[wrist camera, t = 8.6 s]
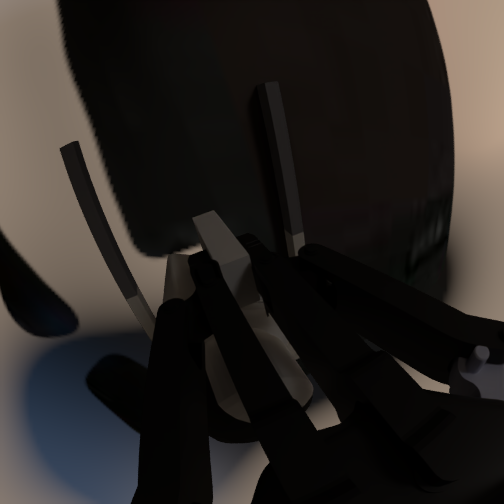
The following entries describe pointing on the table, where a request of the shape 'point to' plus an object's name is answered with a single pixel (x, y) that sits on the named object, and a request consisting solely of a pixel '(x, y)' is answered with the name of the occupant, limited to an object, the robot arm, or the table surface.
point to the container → (217, 375)
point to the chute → (104, 235)
